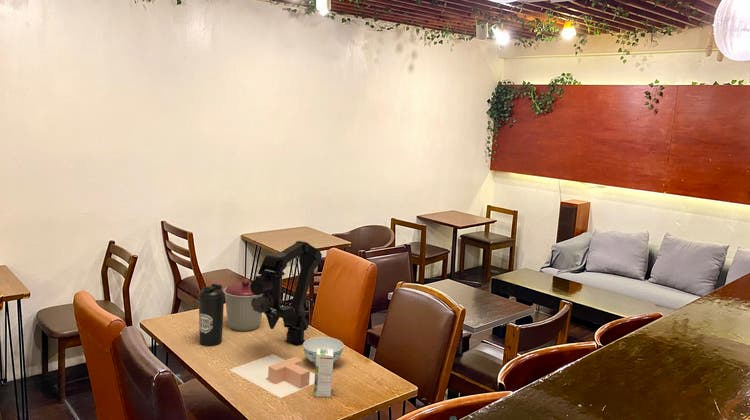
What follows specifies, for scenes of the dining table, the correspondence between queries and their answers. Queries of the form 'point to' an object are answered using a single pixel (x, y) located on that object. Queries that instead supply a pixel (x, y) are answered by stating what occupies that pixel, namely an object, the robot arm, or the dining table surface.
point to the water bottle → (211, 315)
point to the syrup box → (323, 373)
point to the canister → (241, 306)
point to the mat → (259, 376)
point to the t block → (289, 373)
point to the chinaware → (322, 347)
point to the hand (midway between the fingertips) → (271, 328)
